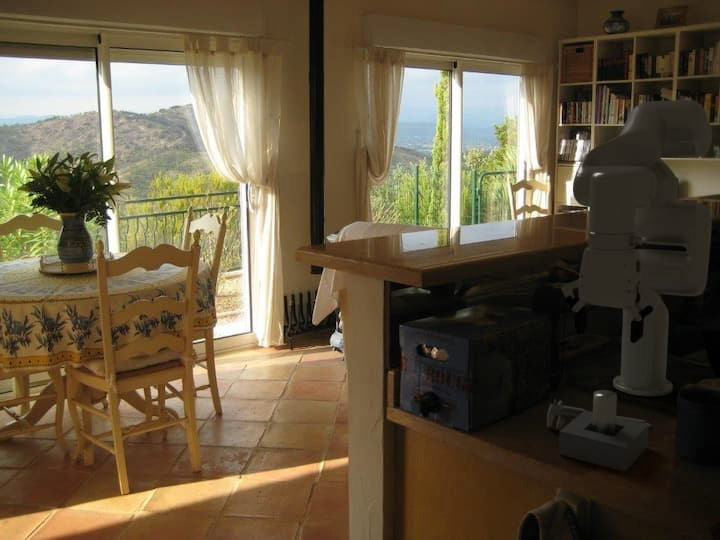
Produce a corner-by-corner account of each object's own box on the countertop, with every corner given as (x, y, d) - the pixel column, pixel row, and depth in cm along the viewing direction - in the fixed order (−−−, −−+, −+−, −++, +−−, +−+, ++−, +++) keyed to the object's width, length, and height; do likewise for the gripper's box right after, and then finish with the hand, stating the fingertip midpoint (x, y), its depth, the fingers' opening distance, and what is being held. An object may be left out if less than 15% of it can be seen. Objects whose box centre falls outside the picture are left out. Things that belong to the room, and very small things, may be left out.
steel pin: (595, 438, 135) (597, 388, 133) (617, 443, 133) (619, 392, 131) (588, 446, 132) (590, 395, 130) (610, 452, 130) (612, 400, 128)
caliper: (548, 431, 143) (548, 401, 141) (546, 429, 144) (547, 399, 142) (651, 428, 142) (653, 398, 141) (649, 426, 143) (651, 396, 142)
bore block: (584, 432, 141) (585, 410, 140) (647, 447, 133) (648, 424, 133) (558, 454, 132) (559, 431, 131) (625, 471, 124) (626, 447, 123)
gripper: (669, 242, 123) (664, 339, 126) (571, 235, 134) (569, 324, 137) (655, 248, 117) (650, 350, 120) (554, 241, 128) (553, 334, 131)
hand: (607, 336), depth 129 cm, fingers open, 9 cm apart
